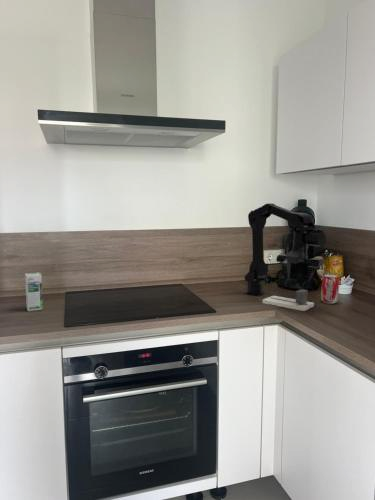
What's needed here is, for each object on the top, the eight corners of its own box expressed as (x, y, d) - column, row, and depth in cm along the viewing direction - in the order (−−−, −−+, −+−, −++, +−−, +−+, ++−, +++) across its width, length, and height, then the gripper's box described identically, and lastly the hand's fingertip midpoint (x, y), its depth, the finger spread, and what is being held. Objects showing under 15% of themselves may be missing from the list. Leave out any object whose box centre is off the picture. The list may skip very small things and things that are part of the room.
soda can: (319, 303, 169) (321, 276, 168) (322, 299, 175) (323, 273, 174) (336, 305, 166) (338, 277, 164) (338, 301, 172) (340, 275, 171)
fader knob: (295, 302, 161) (296, 291, 160) (300, 300, 165) (301, 289, 164) (302, 304, 159) (302, 292, 159) (307, 301, 163) (307, 290, 162)
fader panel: (262, 303, 168) (262, 299, 168) (273, 298, 176) (273, 295, 176) (304, 311, 156) (304, 307, 156) (314, 306, 164) (314, 302, 164)
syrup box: (27, 311, 152) (26, 275, 150) (26, 307, 157) (24, 272, 155) (43, 309, 154) (41, 274, 153) (41, 306, 160) (39, 271, 158)
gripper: (271, 243, 162) (269, 279, 164) (314, 247, 150) (311, 287, 152) (283, 241, 170) (281, 276, 172) (325, 245, 158) (322, 282, 160)
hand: (298, 280), depth 164 cm, fingers open, 9 cm apart
